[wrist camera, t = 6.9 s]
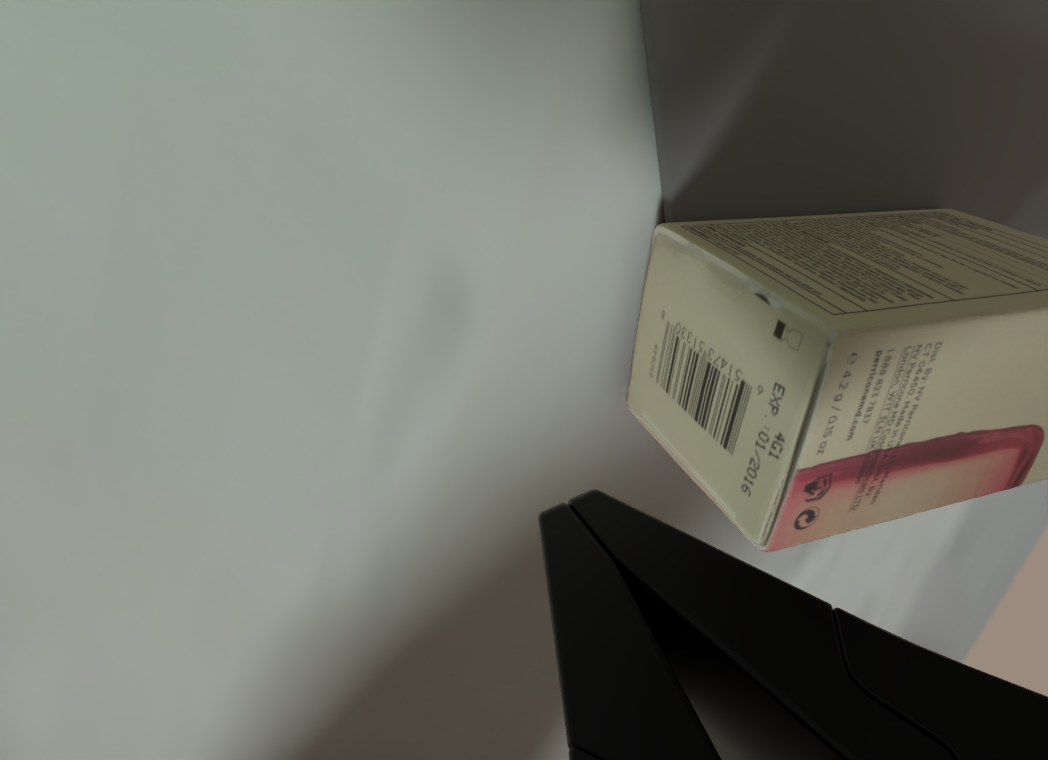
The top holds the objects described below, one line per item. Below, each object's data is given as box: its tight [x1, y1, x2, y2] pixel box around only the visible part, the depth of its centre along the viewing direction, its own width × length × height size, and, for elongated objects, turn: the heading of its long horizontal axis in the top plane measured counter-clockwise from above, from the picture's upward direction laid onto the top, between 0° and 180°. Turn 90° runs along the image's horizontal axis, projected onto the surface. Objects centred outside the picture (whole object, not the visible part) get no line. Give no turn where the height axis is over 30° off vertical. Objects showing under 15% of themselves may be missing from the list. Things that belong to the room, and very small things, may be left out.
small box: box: [626, 209, 1048, 552], centre depth 14 cm, size 5×4×8 cm
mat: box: [640, 0, 1048, 239], centre depth 15 cm, size 12×12×1 cm
